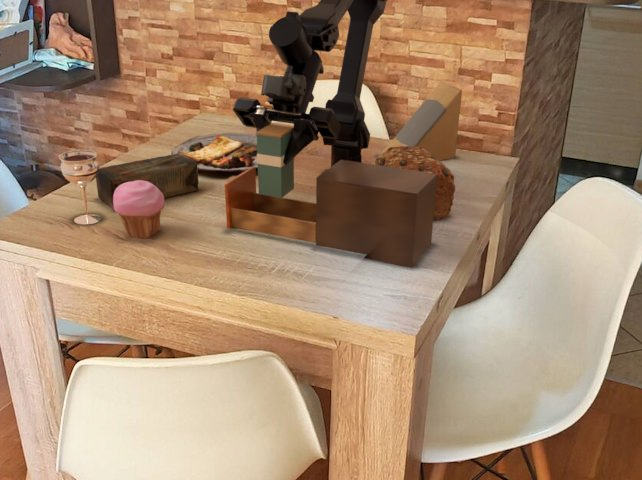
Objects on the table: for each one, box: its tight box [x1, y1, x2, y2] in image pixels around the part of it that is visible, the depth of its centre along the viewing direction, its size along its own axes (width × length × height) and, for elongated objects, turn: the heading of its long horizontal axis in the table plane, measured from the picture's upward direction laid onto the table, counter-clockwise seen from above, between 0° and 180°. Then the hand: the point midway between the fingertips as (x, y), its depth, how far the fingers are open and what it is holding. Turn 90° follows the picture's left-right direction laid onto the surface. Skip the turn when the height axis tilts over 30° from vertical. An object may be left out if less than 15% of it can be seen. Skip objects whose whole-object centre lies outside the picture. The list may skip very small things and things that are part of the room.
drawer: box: [224, 166, 316, 244], centre depth 147 cm, size 19×10×9 cm, turn 65°
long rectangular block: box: [255, 123, 295, 198], centre depth 143 cm, size 5×5×11 cm
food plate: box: [170, 132, 258, 174], centre depth 181 cm, size 25×23×4 cm
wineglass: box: [58, 149, 102, 225], centre depth 150 cm, size 7×7×12 cm
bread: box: [374, 146, 456, 220], centre depth 157 cm, size 19×11×10 cm, turn 12°
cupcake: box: [113, 180, 165, 240], centre depth 144 cm, size 9×9×10 cm
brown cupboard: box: [315, 160, 437, 268], centre depth 139 cm, size 18×10×13 cm, turn 65°
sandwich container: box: [380, 80, 463, 161], centre depth 180 cm, size 9×15×15 cm, turn 116°
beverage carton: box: [95, 153, 200, 210], centre depth 161 cm, size 8×19×7 cm, turn 126°
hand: (271, 161), depth 142 cm, fingers closed on long rectangular block, 4 cm apart
